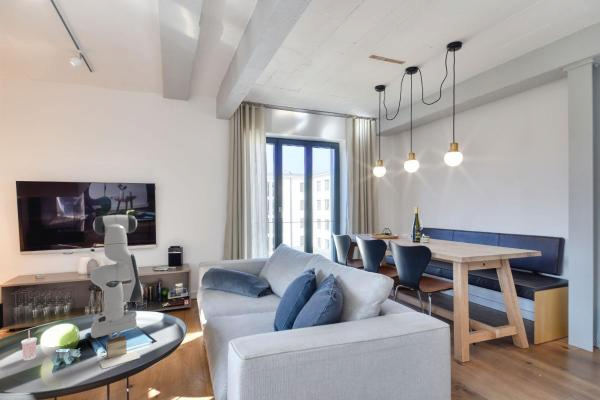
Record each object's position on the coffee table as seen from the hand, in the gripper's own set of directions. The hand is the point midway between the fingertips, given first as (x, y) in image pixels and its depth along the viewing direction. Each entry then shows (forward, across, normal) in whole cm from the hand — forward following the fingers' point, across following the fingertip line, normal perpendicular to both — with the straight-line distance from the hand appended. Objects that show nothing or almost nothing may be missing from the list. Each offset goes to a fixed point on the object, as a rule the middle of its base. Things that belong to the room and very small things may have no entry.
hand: (114, 341), depth 166 cm
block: (+6, 0, +3) cm, 7 cm away
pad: (+6, 0, +11) cm, 12 cm away
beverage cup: (+6, +33, -24) cm, 41 cm away
